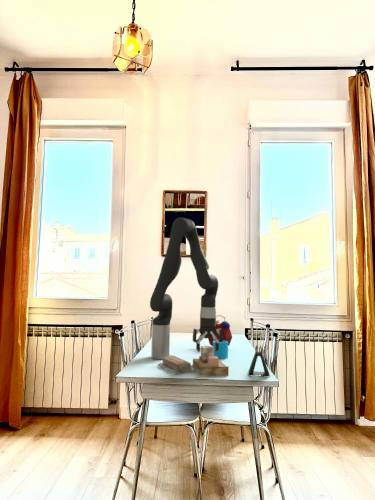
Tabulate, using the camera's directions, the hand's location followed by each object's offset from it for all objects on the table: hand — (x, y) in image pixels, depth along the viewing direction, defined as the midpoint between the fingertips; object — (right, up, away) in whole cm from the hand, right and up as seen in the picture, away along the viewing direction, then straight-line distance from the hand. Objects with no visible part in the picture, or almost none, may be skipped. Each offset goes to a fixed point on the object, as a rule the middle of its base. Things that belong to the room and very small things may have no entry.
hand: (207, 351), depth 159 cm
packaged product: (-15, -8, -3) cm, 17 cm away
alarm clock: (+9, -12, +43) cm, 46 cm away
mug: (+9, -10, +23) cm, 27 cm away
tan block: (0, -4, -1) cm, 5 cm away
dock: (+1, -7, -5) cm, 9 cm away
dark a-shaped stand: (+22, -7, -11) cm, 26 cm away
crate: (+2, -4, -11) cm, 11 cm away
